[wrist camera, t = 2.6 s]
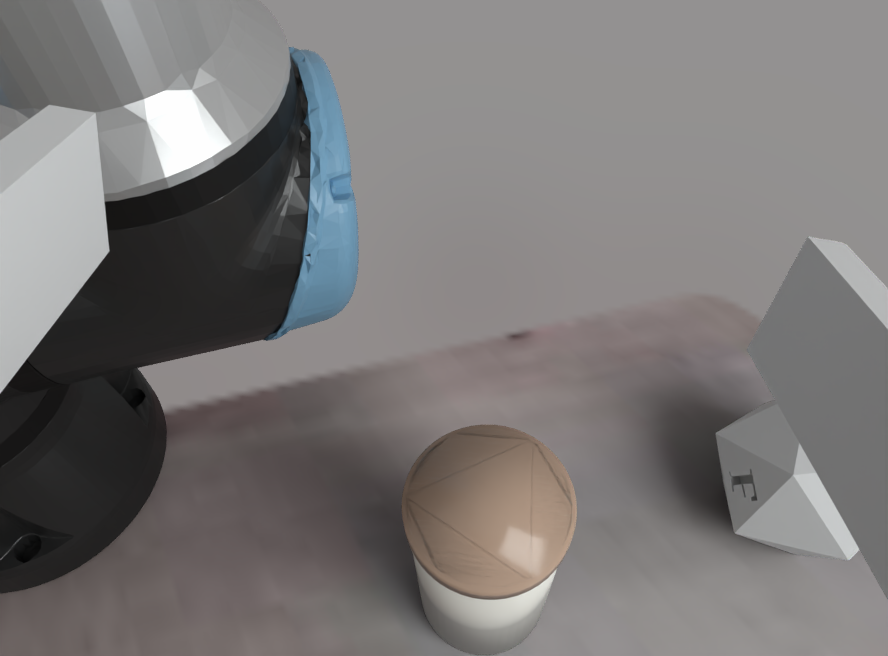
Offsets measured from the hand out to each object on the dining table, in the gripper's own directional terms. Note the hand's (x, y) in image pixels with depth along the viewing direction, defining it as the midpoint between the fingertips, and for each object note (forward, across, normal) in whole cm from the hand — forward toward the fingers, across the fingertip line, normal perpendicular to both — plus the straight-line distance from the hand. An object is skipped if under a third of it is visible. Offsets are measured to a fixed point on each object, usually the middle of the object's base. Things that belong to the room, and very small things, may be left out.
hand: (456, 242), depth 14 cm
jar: (+11, +7, -26) cm, 29 cm away
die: (+15, +23, -21) cm, 34 cm away
